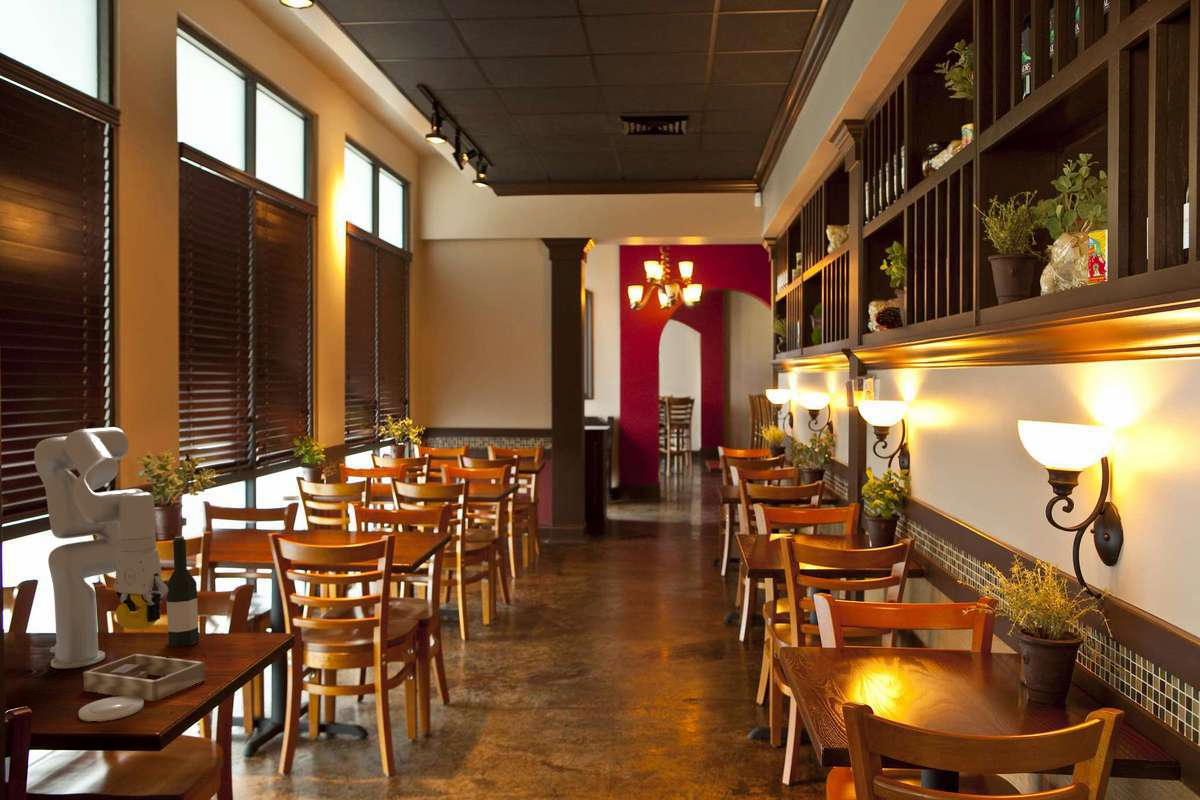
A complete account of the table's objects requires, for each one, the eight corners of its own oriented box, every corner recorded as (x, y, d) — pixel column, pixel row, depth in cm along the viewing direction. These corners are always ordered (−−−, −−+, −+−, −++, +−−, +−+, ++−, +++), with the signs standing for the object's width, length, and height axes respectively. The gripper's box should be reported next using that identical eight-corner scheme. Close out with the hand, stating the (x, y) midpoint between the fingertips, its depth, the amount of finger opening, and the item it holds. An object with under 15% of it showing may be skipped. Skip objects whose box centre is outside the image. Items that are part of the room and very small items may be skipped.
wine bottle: (174, 639, 263) (169, 535, 262) (204, 637, 264) (199, 533, 263) (162, 647, 255) (158, 540, 254) (193, 646, 256) (189, 539, 254)
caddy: (84, 690, 221) (83, 672, 221) (136, 671, 235) (135, 653, 235) (155, 701, 213) (154, 682, 212) (205, 680, 227) (204, 662, 226)
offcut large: (102, 690, 223) (101, 681, 223) (132, 678, 231) (131, 669, 231) (117, 692, 221) (117, 683, 221) (147, 680, 230) (147, 671, 230)
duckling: (168, 621, 223) (166, 580, 223) (171, 626, 219) (169, 584, 218) (115, 629, 217) (113, 587, 217) (118, 634, 213) (116, 592, 212)
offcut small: (110, 680, 224) (109, 672, 224) (126, 671, 230) (126, 663, 229) (124, 680, 223) (124, 672, 223) (140, 672, 229) (140, 664, 229)
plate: (65, 717, 204) (64, 712, 204) (115, 697, 216) (115, 692, 216) (107, 724, 199) (107, 719, 199) (156, 703, 211) (156, 698, 211)
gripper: (97, 546, 217) (100, 621, 217) (154, 549, 211) (157, 626, 211) (123, 540, 224) (126, 613, 224) (179, 543, 218) (182, 617, 218)
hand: (141, 618), depth 218 cm, fingers closed on duckling, 6 cm apart
